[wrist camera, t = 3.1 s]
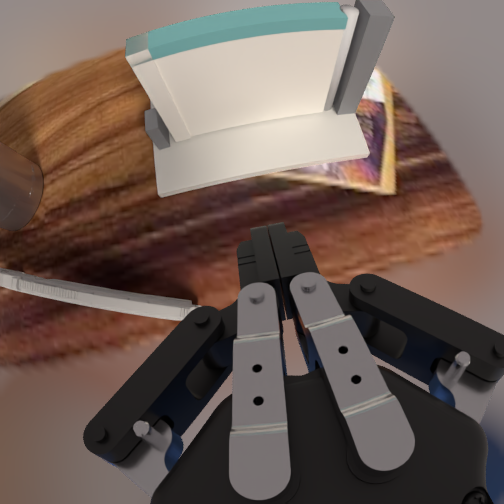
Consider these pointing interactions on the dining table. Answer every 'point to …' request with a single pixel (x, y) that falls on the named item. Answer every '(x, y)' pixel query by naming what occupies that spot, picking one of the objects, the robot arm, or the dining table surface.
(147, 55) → the gate panel
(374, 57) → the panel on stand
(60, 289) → the grey flat strip
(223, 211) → the dining table surface
